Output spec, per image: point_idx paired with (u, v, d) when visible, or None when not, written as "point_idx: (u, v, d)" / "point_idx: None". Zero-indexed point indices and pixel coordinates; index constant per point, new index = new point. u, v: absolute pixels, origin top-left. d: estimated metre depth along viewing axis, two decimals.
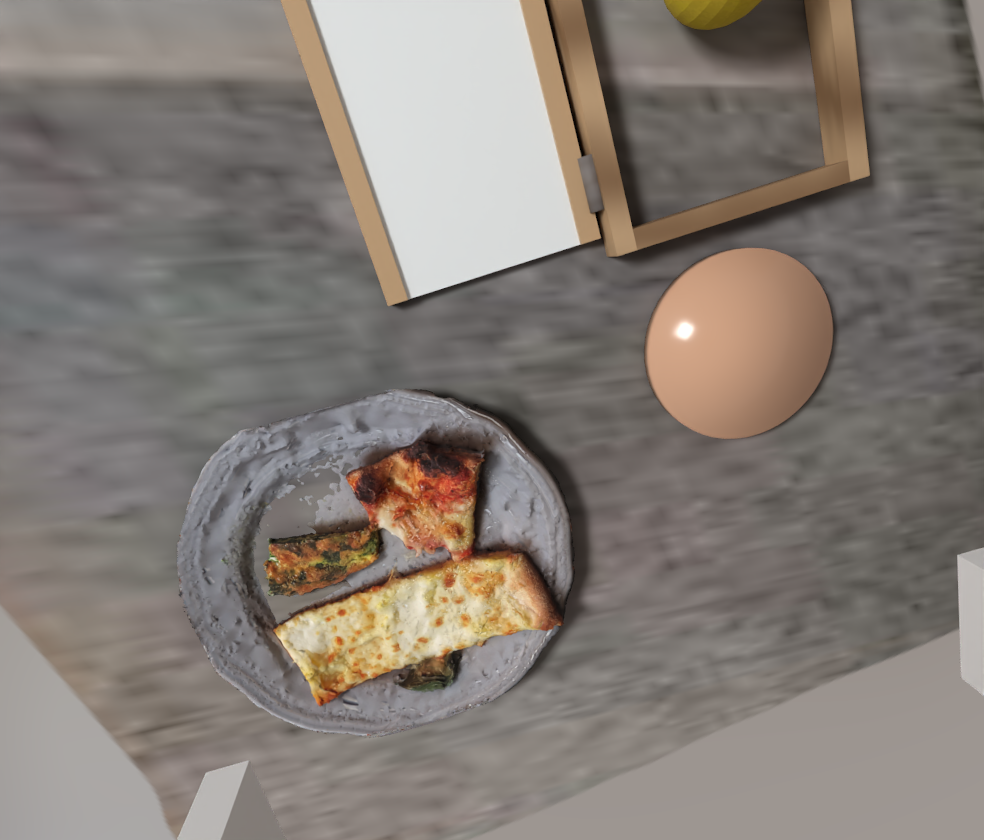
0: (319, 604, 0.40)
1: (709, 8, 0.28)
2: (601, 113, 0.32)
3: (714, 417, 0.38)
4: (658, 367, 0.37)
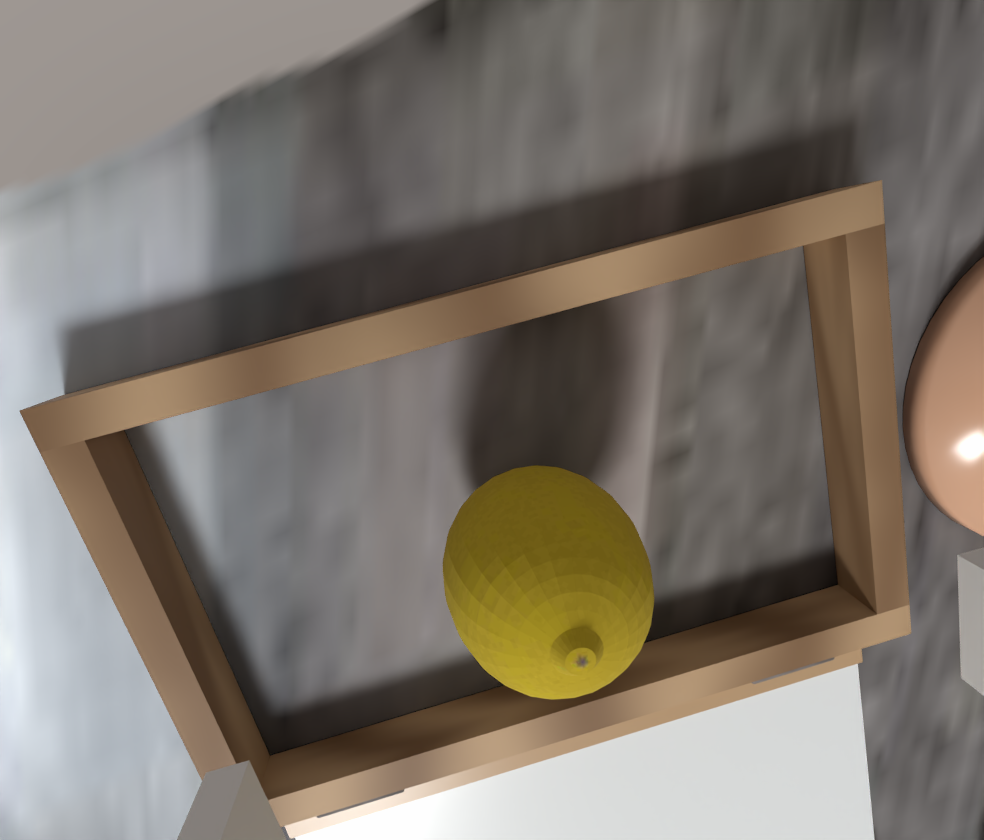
0: None
1: None
2: (707, 673, 0.20)
3: None
4: None
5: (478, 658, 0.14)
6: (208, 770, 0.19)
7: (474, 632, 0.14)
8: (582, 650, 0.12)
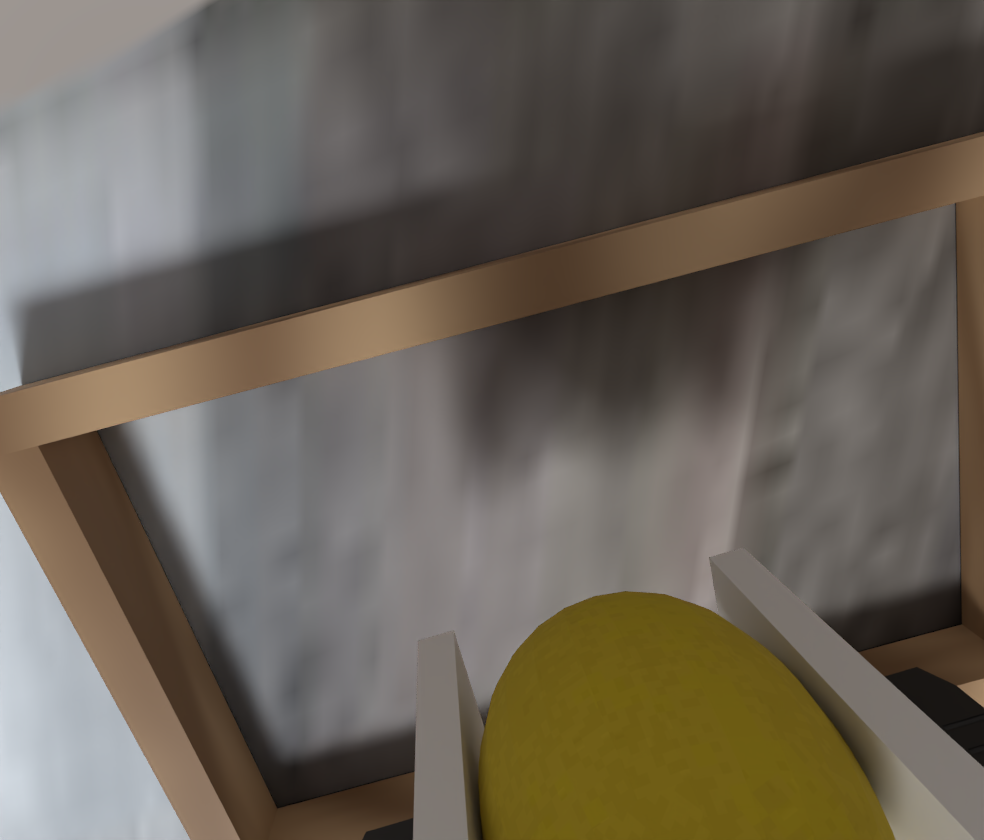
0: None
1: None
2: None
3: None
4: None
5: None
6: (202, 836, 0.16)
7: None
8: None
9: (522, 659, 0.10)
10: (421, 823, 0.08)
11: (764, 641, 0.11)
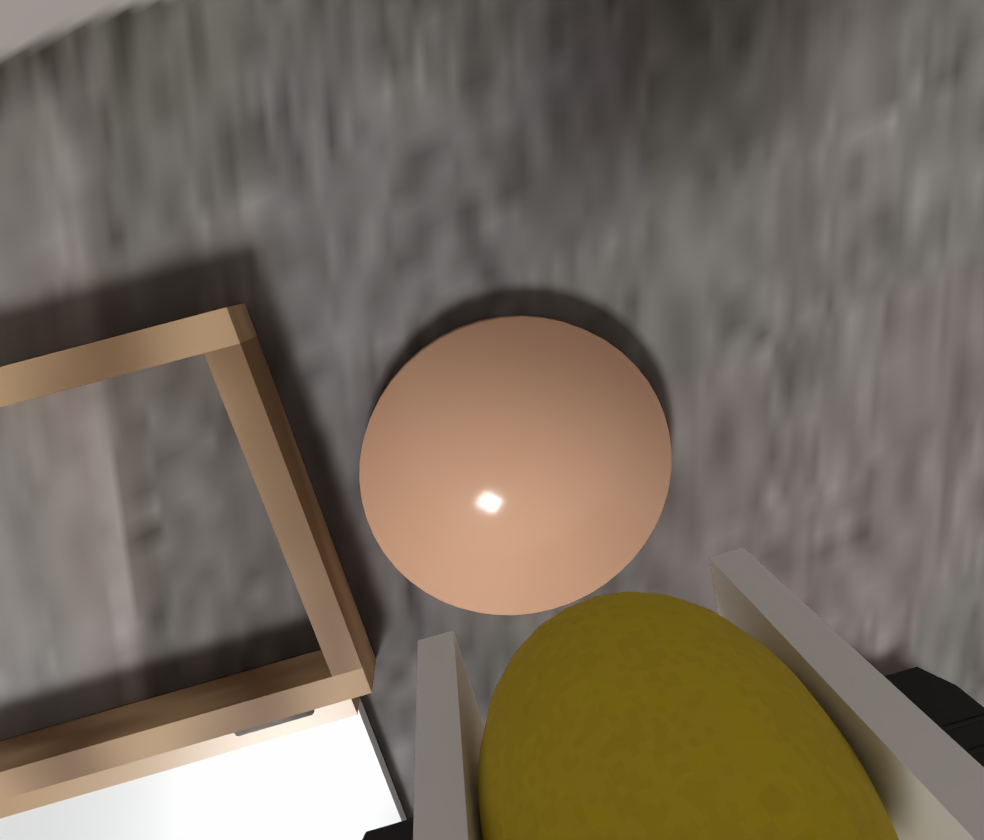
0: None
1: None
2: (175, 728, 0.23)
3: (630, 509, 0.23)
4: (540, 600, 0.24)
5: None
6: None
7: None
8: None
9: (522, 660, 0.09)
10: (421, 823, 0.08)
11: (764, 641, 0.11)
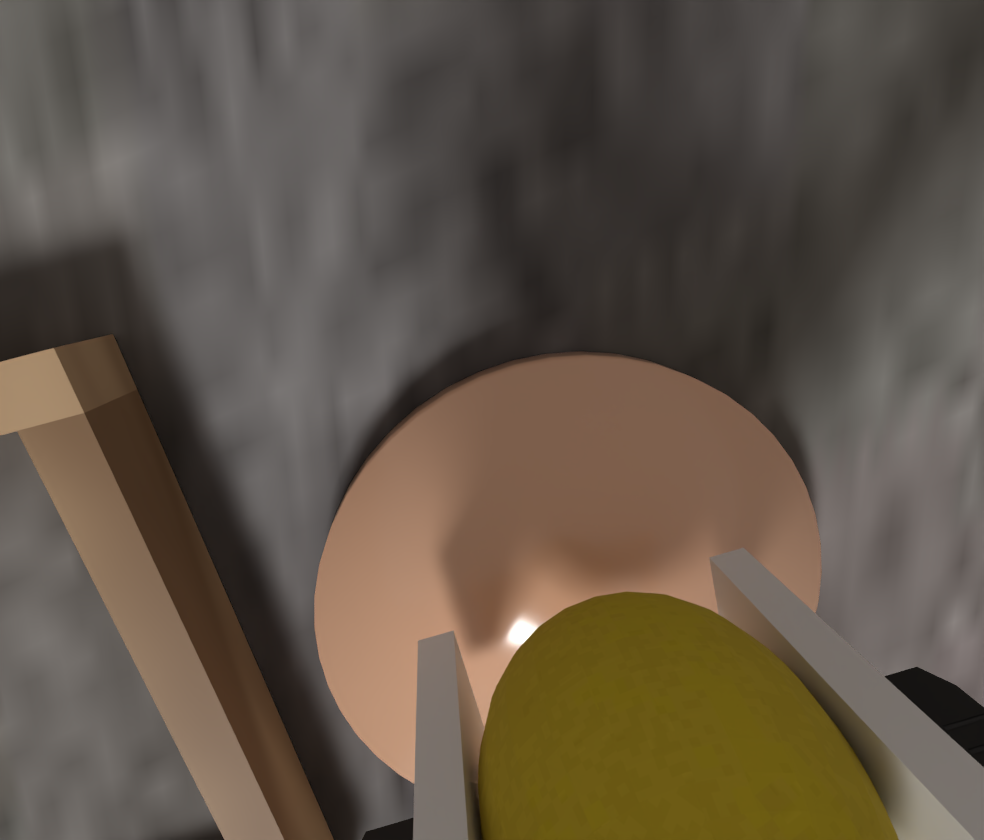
0: None
1: None
2: None
3: None
4: None
5: None
6: None
7: None
8: None
9: (522, 660, 0.09)
10: (421, 823, 0.08)
11: (765, 641, 0.11)
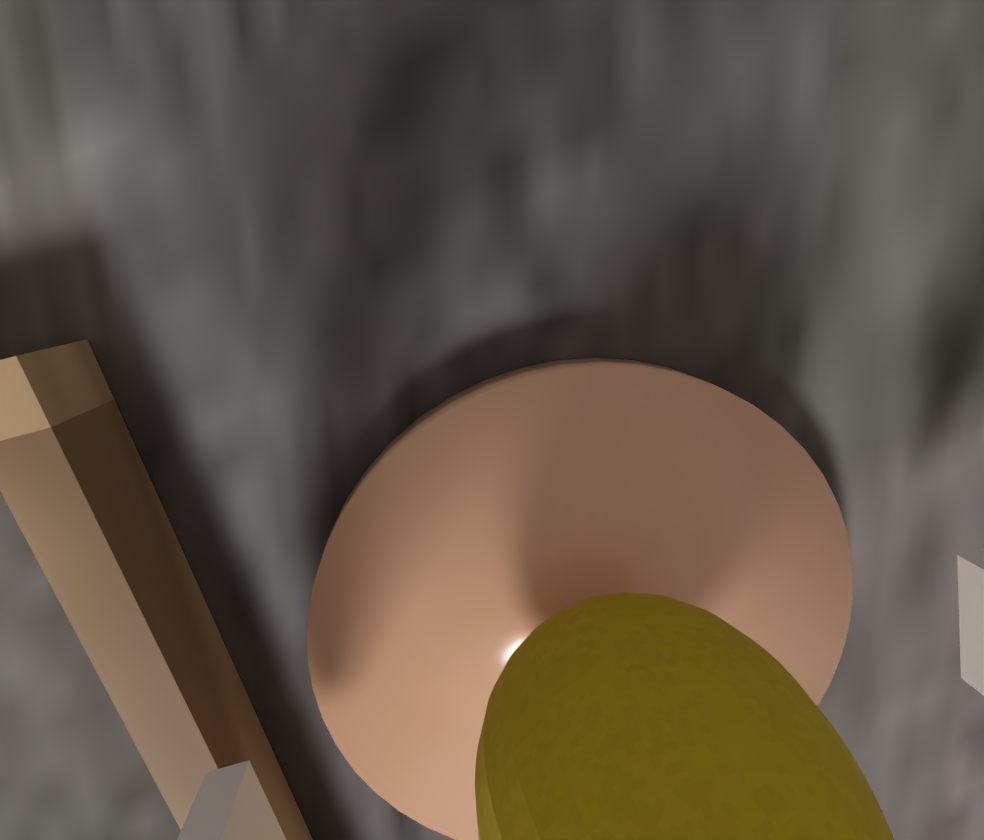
0: None
1: None
2: None
3: None
4: None
5: None
6: None
7: None
8: None
9: (519, 660, 0.09)
10: None
11: None
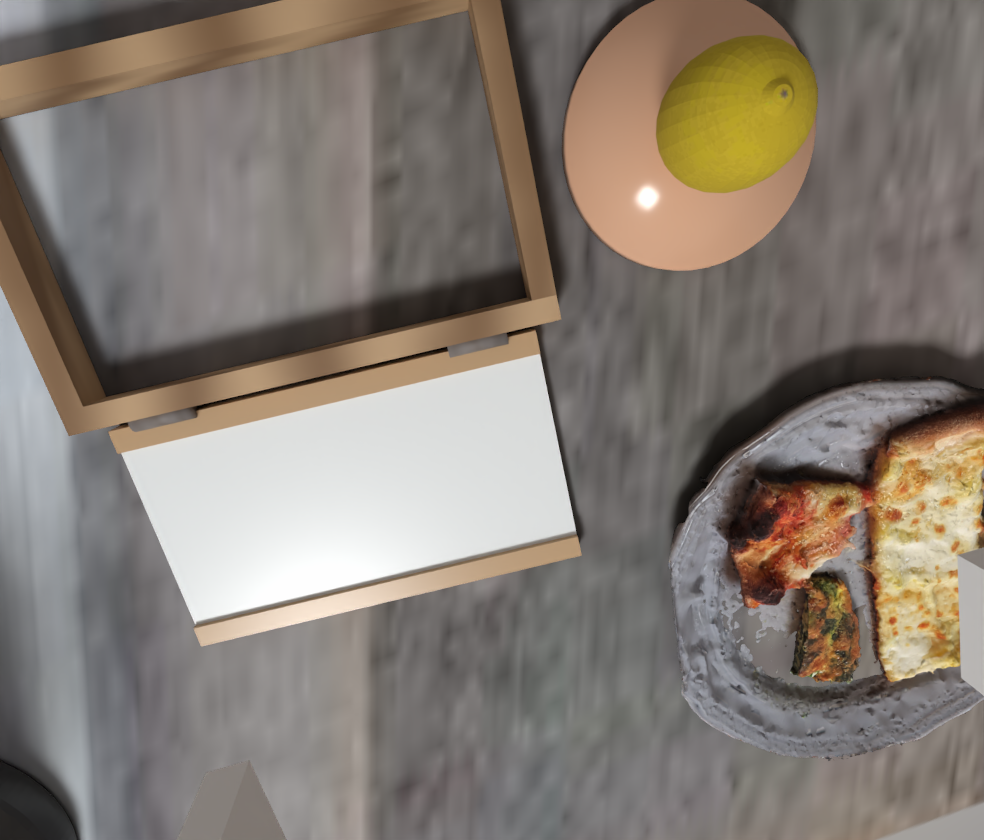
0: (874, 635, 0.38)
1: None
2: (406, 336, 0.28)
3: (777, 178, 0.29)
4: (697, 258, 0.29)
5: (701, 132, 0.22)
6: (48, 375, 0.28)
7: (703, 106, 0.21)
8: (785, 86, 0.20)
9: None
10: None
11: None
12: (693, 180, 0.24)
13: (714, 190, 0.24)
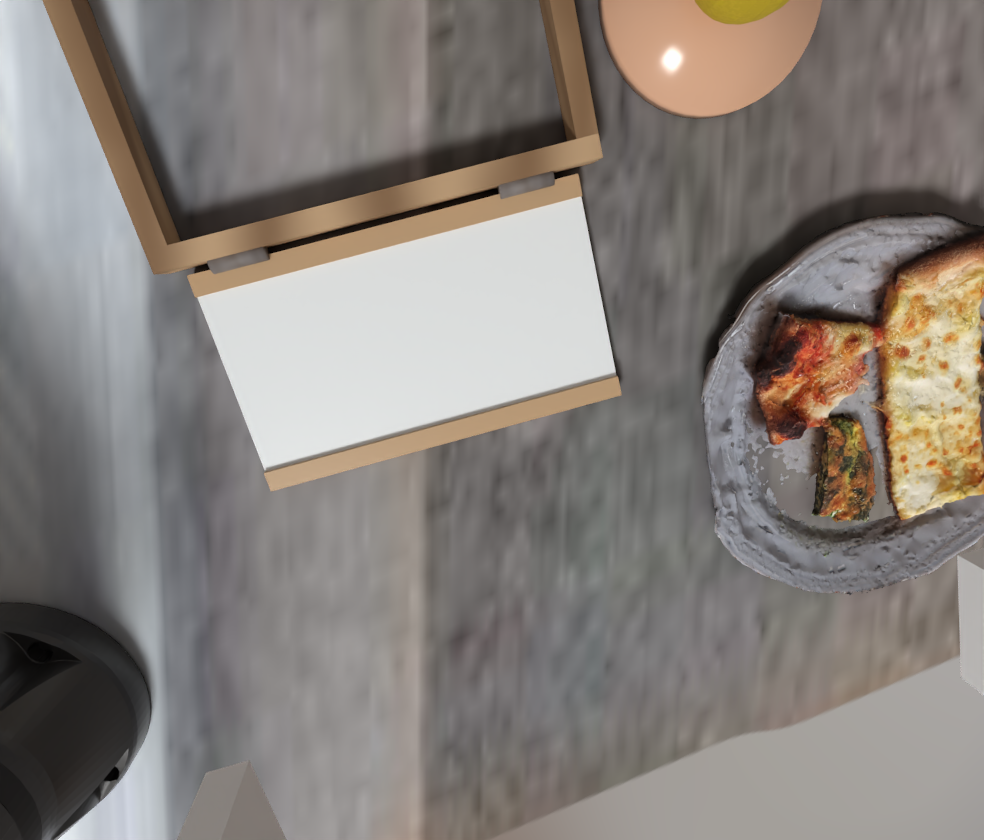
0: (887, 476, 0.41)
1: None
2: (463, 174, 0.31)
3: (791, 26, 0.32)
4: (721, 103, 0.32)
5: None
6: (136, 214, 0.30)
7: None
8: None
9: None
10: None
11: None
12: (724, 5, 0.27)
13: (743, 14, 0.27)
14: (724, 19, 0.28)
